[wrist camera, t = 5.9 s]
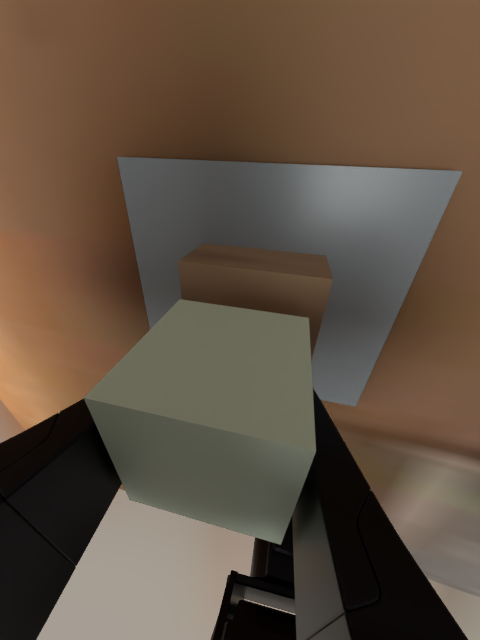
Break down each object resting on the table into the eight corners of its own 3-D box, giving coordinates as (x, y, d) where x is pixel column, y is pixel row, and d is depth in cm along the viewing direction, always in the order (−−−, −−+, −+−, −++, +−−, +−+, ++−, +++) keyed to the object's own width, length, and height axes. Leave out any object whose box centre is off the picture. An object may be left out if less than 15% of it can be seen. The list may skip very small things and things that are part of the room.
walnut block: (302, 354, 14) (303, 393, 12) (207, 338, 15) (188, 370, 13) (325, 255, 11) (332, 279, 9) (203, 243, 12) (178, 261, 10)
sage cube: (288, 407, 10) (280, 544, 6) (188, 387, 11) (129, 499, 7) (308, 317, 8) (315, 451, 4) (179, 299, 8) (83, 398, 5)
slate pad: (354, 400, 16) (355, 406, 16) (160, 363, 18) (157, 367, 18) (455, 171, 9) (462, 171, 9) (123, 157, 11) (116, 156, 11)
